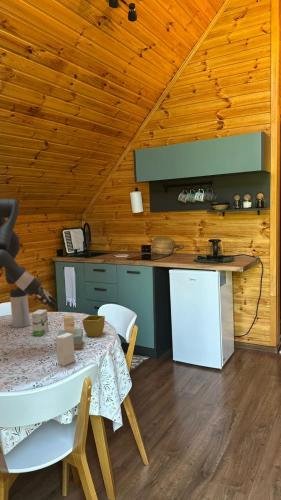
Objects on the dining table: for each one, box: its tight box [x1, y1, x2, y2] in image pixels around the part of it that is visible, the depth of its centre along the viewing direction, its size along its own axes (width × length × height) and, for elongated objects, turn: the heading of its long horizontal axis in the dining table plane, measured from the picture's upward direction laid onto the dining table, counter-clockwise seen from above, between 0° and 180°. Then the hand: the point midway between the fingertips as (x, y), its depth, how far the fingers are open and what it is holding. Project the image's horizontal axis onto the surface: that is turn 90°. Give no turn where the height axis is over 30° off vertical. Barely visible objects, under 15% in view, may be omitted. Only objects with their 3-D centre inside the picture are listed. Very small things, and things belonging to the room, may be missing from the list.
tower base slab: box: [74, 343, 84, 351], centre depth 177 cm, size 11×11×4 cm
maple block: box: [63, 314, 76, 334], centre depth 176 cm, size 5×5×8 cm
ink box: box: [31, 309, 50, 337], centre depth 198 cm, size 9×5×12 cm, turn 168°
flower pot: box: [81, 314, 106, 338], centre depth 191 cm, size 9×9×9 cm
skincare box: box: [55, 333, 76, 367], centre depth 158 cm, size 6×4×12 cm
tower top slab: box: [56, 327, 84, 344], centre depth 177 cm, size 11×11×4 cm
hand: (56, 305), depth 174 cm, fingers open, 8 cm apart
